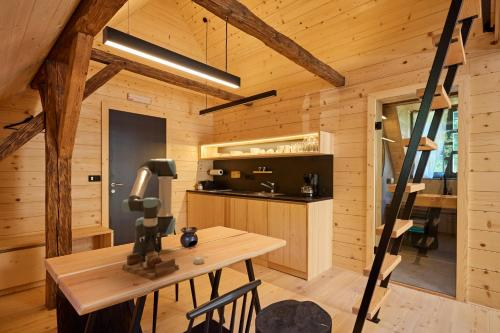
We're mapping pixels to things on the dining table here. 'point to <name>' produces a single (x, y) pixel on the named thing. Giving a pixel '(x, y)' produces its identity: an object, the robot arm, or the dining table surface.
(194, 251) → the dining table surface
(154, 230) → the robot arm
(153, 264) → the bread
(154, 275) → the cradle
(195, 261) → the beige round lump
